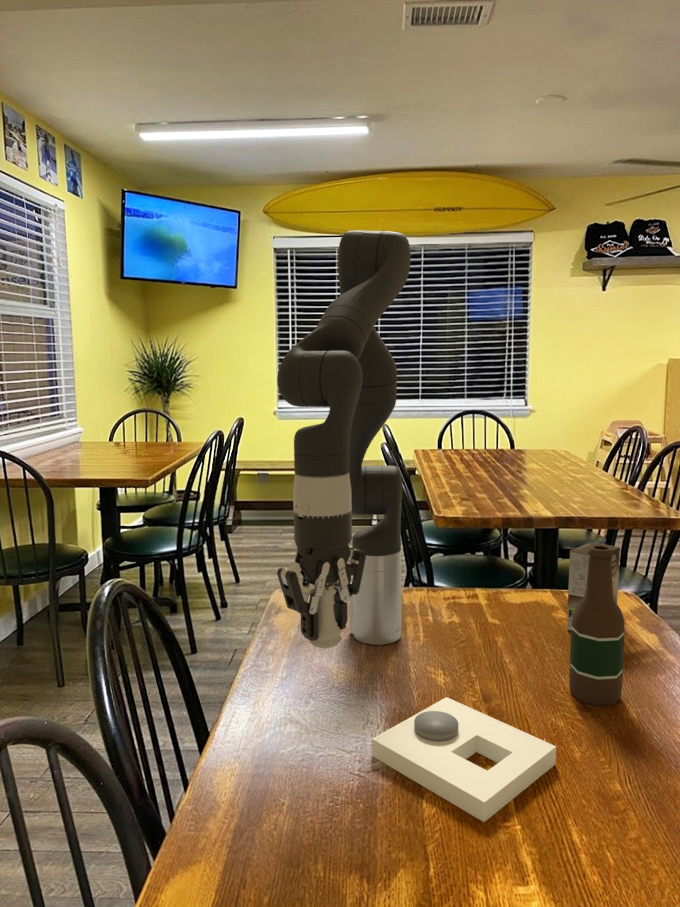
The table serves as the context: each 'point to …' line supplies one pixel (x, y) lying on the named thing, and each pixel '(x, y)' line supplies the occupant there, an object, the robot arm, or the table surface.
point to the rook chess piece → (327, 620)
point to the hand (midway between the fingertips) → (324, 632)
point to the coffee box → (580, 573)
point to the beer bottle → (597, 636)
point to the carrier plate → (464, 756)
